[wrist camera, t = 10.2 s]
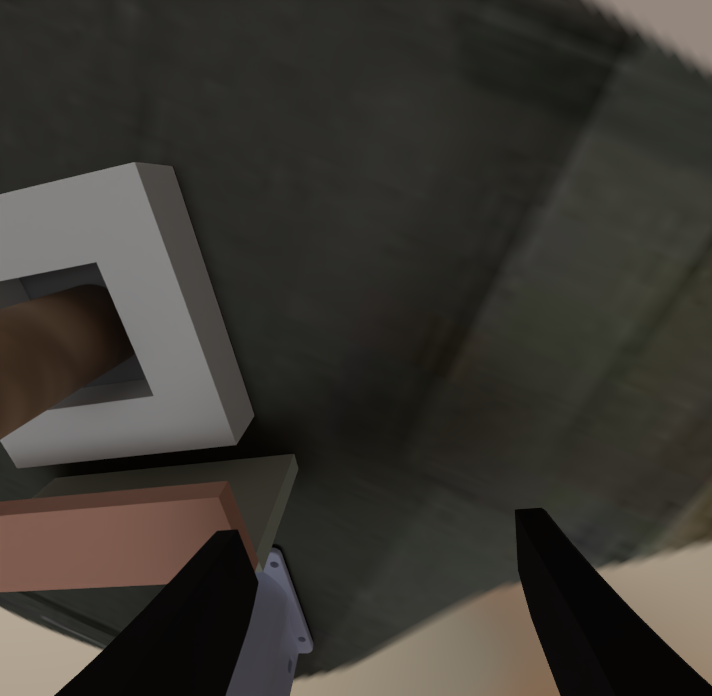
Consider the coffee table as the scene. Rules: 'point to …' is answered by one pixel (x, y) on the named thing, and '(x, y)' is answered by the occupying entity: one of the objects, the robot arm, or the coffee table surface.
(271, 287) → the coffee table surface
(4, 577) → the pink slab
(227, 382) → the socket block
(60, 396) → the peg
